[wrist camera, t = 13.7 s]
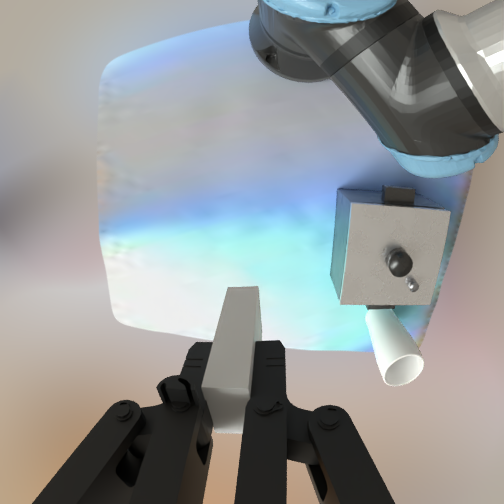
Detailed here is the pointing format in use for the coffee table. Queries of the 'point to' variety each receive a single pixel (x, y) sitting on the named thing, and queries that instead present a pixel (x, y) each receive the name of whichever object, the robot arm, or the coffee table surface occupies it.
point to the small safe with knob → (344, 197)
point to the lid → (392, 254)
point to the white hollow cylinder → (393, 348)
